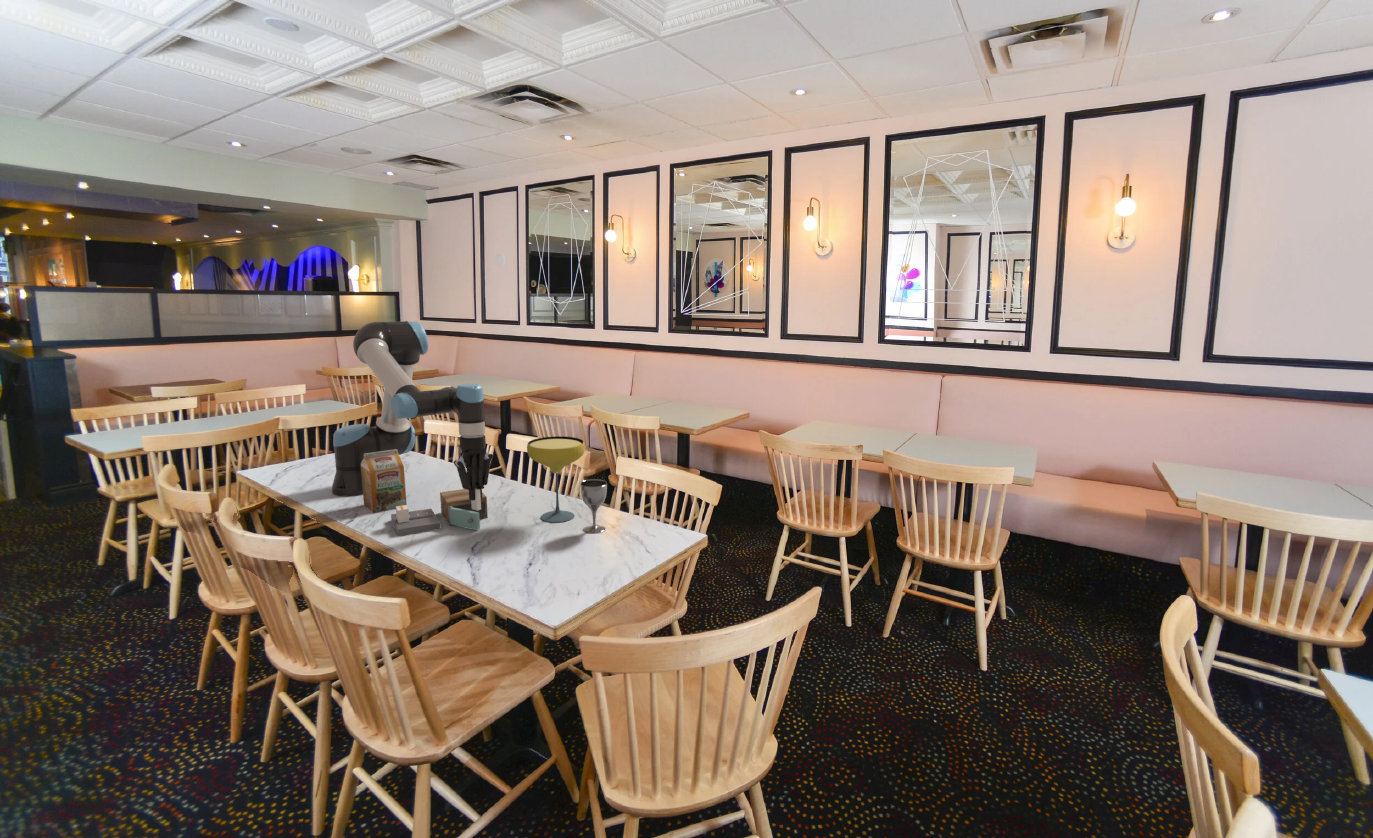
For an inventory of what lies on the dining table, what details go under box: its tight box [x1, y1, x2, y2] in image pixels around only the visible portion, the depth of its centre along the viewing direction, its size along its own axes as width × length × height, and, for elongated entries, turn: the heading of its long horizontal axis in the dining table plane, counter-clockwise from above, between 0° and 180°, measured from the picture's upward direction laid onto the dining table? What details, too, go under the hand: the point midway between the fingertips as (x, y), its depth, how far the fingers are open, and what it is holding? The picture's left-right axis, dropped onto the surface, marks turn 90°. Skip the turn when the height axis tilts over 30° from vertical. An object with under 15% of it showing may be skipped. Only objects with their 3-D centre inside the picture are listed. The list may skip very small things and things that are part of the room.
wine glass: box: [580, 478, 608, 535], centre depth 193 cm, size 8×8×15 cm
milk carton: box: [361, 449, 407, 514], centre depth 210 cm, size 11×11×19 cm
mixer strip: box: [390, 508, 441, 537], centre depth 196 cm, size 15×12×2 cm
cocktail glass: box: [526, 436, 586, 524], centre depth 202 cm, size 18×18×25 cm
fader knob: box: [395, 505, 410, 523], centre depth 193 cm, size 4×3×4 cm
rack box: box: [439, 488, 489, 525], centre depth 204 cm, size 12×12×7 cm
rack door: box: [447, 506, 481, 531], centre depth 193 cm, size 2×12×6 cm, turn 66°
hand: (476, 509), depth 196 cm, fingers closed
